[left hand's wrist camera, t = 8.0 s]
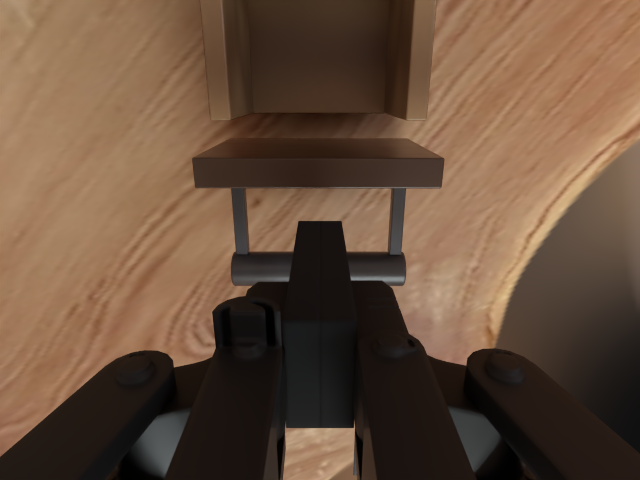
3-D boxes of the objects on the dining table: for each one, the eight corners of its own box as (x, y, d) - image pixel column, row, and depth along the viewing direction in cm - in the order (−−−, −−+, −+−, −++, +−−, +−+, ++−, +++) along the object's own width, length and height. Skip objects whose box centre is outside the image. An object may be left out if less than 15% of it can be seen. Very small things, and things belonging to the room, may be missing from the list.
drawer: (399, 258, 25) (428, 319, 18) (238, 258, 25) (208, 319, 18) (442, -337, 16) (528, -637, 9) (195, -338, 16) (108, -639, 9)
